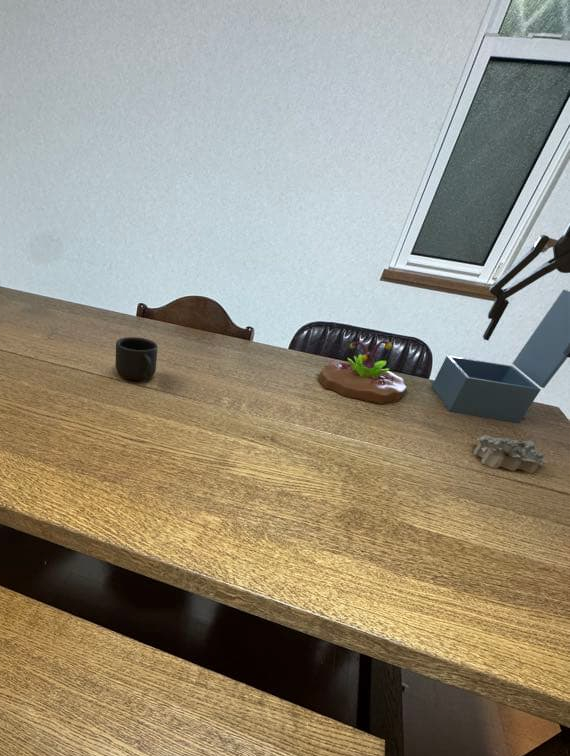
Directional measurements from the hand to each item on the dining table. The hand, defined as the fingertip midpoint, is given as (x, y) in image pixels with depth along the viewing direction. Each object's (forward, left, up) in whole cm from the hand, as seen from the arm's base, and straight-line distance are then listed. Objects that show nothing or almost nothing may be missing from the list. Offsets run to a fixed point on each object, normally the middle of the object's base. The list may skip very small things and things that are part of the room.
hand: (525, 347), depth 83 cm
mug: (+73, 0, -18) cm, 75 cm away
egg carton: (-2, +10, -18) cm, 21 cm away
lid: (-14, -19, -2) cm, 24 cm away
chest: (-6, -20, -18) cm, 27 cm away
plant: (+21, -19, -18) cm, 33 cm away
